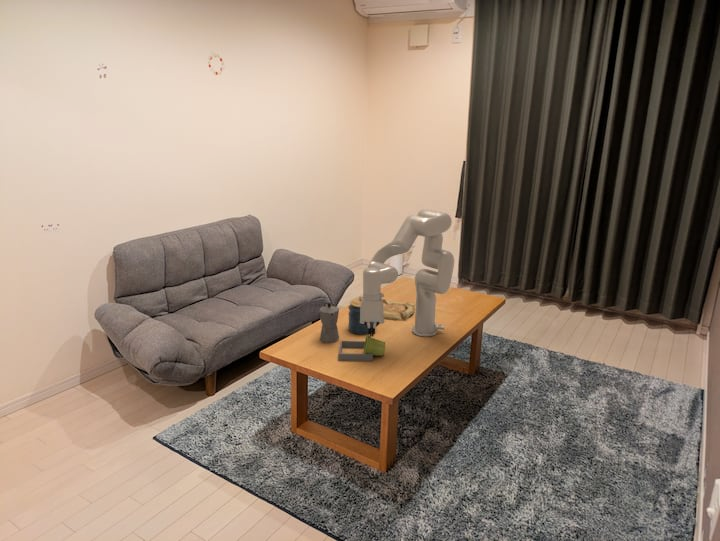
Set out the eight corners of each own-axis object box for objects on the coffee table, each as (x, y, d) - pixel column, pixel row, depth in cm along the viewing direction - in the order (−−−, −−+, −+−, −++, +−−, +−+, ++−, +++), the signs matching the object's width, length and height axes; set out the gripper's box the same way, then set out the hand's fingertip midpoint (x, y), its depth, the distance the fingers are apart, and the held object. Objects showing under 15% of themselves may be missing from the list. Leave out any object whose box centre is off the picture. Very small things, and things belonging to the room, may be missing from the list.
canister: (373, 335, 248) (374, 300, 243) (347, 334, 249) (347, 300, 243) (374, 324, 260) (375, 291, 255) (349, 323, 261) (349, 291, 256)
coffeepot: (342, 343, 239) (342, 307, 233) (322, 345, 236) (322, 309, 231) (335, 330, 253) (334, 296, 248) (316, 332, 250) (315, 297, 245)
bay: (373, 347, 235) (373, 341, 234) (372, 361, 222) (372, 354, 221) (340, 346, 235) (340, 340, 235) (338, 360, 222) (338, 354, 222)
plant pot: (387, 337, 223) (368, 333, 223) (384, 358, 221) (364, 354, 220) (384, 340, 232) (365, 336, 232) (381, 360, 230) (362, 357, 229)
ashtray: (425, 313, 277) (426, 304, 276) (396, 325, 261) (397, 315, 259) (392, 301, 293) (392, 293, 292) (363, 312, 277) (363, 303, 275)
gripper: (389, 293, 224) (388, 332, 230) (354, 293, 224) (355, 331, 230) (389, 299, 217) (388, 339, 222) (354, 299, 217) (354, 338, 223)
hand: (371, 335), depth 226 cm, fingers closed
